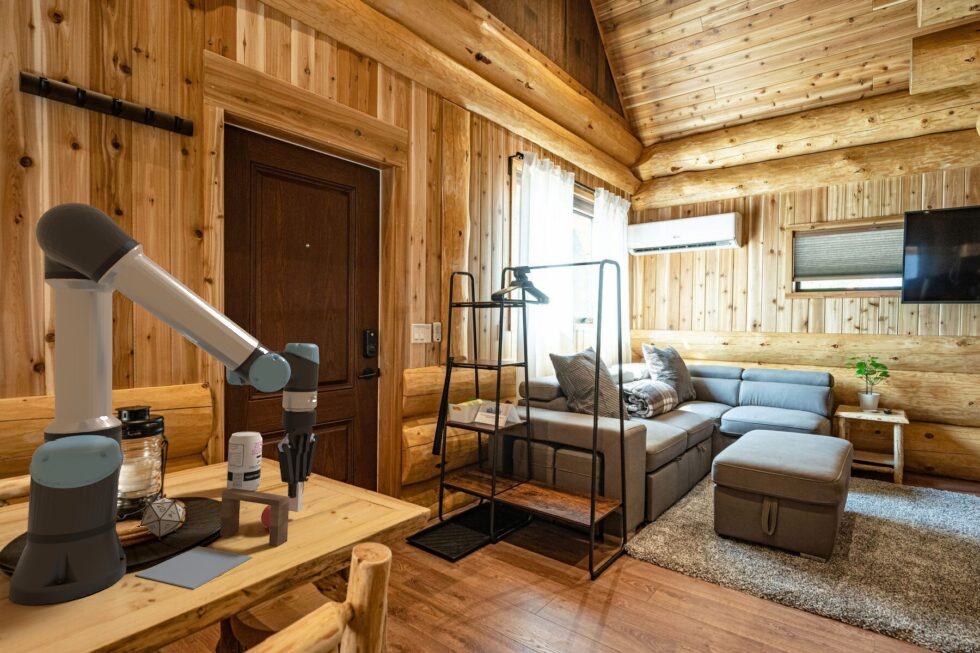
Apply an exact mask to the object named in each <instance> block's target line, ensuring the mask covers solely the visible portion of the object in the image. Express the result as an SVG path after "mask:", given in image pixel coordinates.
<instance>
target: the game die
mask: <svg viewBox="0 0 980 653" xmlns="http://www.w3.org/2000/svg"><path fill="white" fill-rule="evenodd" d="M146 504H147V505H148V506H146V508H145V510H144V509H141V510H140V514H142V518H141V521H140V524H139V525H136V527H140V526H146V528H148V529H149V531H148V532H151V534H153V535H154V536H156V537H157V540H160V541H161V540H162V537H163V536H165V535H167V534H169V533H171V532H175V531H176V530H177V531H178V529H176V528H177V527H178V526H179V525H180V524H183V525H184V524H185V521H184V520H182V518H183V511H184V509H187V508H188V506H187V505H184V506H182V505H180V504H179V503H178V498H175V499H174V500H173V499H170V498H168V497H167V493H165V494H163V497H162V498H159V499H158V500H155V501H153V502H151V501H149V500H148V501H147V500H146ZM140 528H141V527H140ZM174 530H175V531H174Z"/></svg>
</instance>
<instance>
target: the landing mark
mask: <svg viewBox="0 0 980 653" xmlns="http://www.w3.org/2000/svg"><path fill="white" fill-rule="evenodd" d="M250 559H253V557H252V556H249V555H244V554H239V553H234V552H229V551H224V550H220V549H214V548H209V547H203V546H200V545H198V546H196V547H193V548H191V549H190V550H187V551H185V552H183V553H180V554H178V555H176V556H174V557H172V558H170V559H167V560H164V561H163V562H161V563H159V564H156V565H154V566H152V567H150V568H147V569H145V570H142V571H141V572H138V573H135V577H138V578H144V579H147V580H151V581H152V580H153V581H156V582H160V583H164V584H170V585H172V586H177V587H181V588H187V589H190V590H196V589H197V588H199V587H200V586H202V585H204V584H207V583H208V582H210V581H212V580H214V579H216V578H218V577H219V576H221V575H224V574H225V573H226V572H229V571H230V570H233V569H234V568H236V567H238V566H240V565H242V564H243V563H245V562H247V561H249V560H250Z"/></svg>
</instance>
